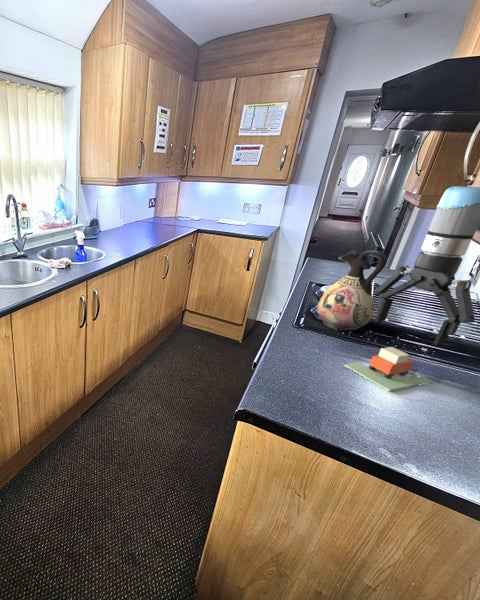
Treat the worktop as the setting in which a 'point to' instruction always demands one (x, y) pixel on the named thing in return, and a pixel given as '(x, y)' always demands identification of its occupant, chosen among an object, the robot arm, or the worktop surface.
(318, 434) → the worktop surface
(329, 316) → the ceramic jug
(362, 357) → the worktop surface
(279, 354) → the worktop surface
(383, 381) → the mat
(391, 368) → the toy car
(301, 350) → the worktop surface
